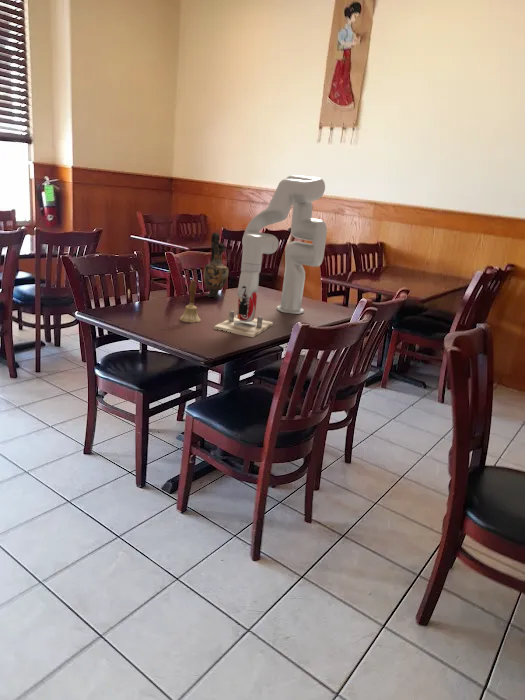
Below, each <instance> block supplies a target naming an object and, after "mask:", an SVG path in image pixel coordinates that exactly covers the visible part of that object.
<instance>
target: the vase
mask: <svg viewBox="0 0 525 700" xmlns="http://www.w3.org/2000/svg"><path fill="white" fill-rule="evenodd" d="M220 237H221V236H220V234H219V233H218V232H214V233H212V235H211V237H210V238H211V240H210V242H211V247H210V249H211V253H210V254H211V255H210V262H209V263H206V264H205V265H204V267H203V279H204V280H203V281H204V284H205V287H207V289H209V292H208V293H207V294H206V295H207V296H208V298H210V297H214V298H213V299H220V297H221V295H220V294H218V293H219V291H220V290H222V289H223V288H224V287H225V286H226V283H227V280H228V277H229V273H230V272H229V268H228V267H227V266H226V265H225V264H223V263H222V258H223V257H222V255H223V252H226V251H227V248H226V246H225V245H226V244H224V243H220ZM207 296H206V297H207ZM221 298H222V297H221Z"/></svg>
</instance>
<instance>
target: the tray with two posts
mask: <svg viewBox="0 0 525 700" xmlns="http://www.w3.org/2000/svg"><path fill="white" fill-rule="evenodd" d="M263 318H264V317H263V316H259V315H258V316H257V317H256V318H254V320H252V321H251V322H243V321H240V320H239V319H238V318H237V314H236V315H235V311H234V310H229V312H228V319H226V320H224V321H222V322H220V323H217V324H216V325H214V326H213V327H214V330H217V329H218V330H217V331H221V330H223V331H222V332H226V331H227V333H230V332H231V333H230V334H236V335H240V336H243V337H244V336H245V337H250V338H255V337H256V336H258V335H260V334H261V333H263V332H264V331H266V330H267V329H269V328H271V327H272V326H274V322H273V321H270V320H264V319H263Z"/></svg>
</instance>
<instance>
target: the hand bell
mask: <svg viewBox="0 0 525 700" xmlns="http://www.w3.org/2000/svg"><path fill="white" fill-rule="evenodd" d="M188 291H189V292H188V293H189V304H187V305H186V306H185V308H184V312H183V313H182V315H181V316H180V318H179V320H180V321H181V322H184V323H189V322H190V323H191V324H196V323H195V322H197V323H200V322H201V321H202V320H201V318H200V317H199V315H198V307H197V306H195V295H196V292H197V284H196V279H195V280H194V279H192V280H191V282H190V285H189V290H188Z"/></svg>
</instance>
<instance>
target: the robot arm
mask: <svg viewBox="0 0 525 700" xmlns="http://www.w3.org/2000/svg"><path fill="white" fill-rule="evenodd" d="M325 191H326V183H325V181H324V179H323V178H321V177H317V176H307V175H306V176H305V175H298V174H294V175H293V174H291V175H288V176H287V177H286V178H283V179H282V180H281V181H279V183H278V185H277V187H276V189H275V191H274V193H273V195H272V198H271V199H270V201H269V204H268V206H267V207H266V208H265V209H264V210H262V211H260V212H259V213H258V214H256V215H255V216H253V218H251V220H250V221H249V222H248V224H247V225H246V228H245V231H244V232H243V236H242V240H241V244H242V255H241V267H240V275H239V281H238V286H237V287H238V288H237V297H238V300H239V301H240V302H239V314H242V315H247V307H248V305H247V302H248V298H250V297H251V295H252V292H255V291H256V295H257V294H258V292H259V281H260V273H261V270H262V268H261V267H262V262H263V261H262V260H263V254H265V255H272V254H274V253H276V251H277V250H278V248H279V243H280V242H279V239H278V238H277V236H275V235H274V234H272V233H271V234H270V233H264V232H260V231H261V229H263V228H265V227H267V226H270V225H273V224H277V223H281V222H283V221H285V220H286V219H287V218H288V215H289V213H290V211H291V209H292V215H291V223H290V225H291V226H290V235H291V236H292V237H293V238H295V239H298V240H304V241H310V242H312V243H308V242H302V241H296V240H295V241H291V242H290V241H289V243H287V244H286V246H285V251H284V255H285V256H284V257H285V258H284V259H285V262H284V264H285V265H284V266H285V267H284V276H283V283H282V291H281V299H280V305H277V306H276V310H277V311H278V312H282V313H286V314H290V315H292V314H293V315H298V314H299V315H300V314H303V313H304V311H305V309H304V308H302V303H303V301H302V300H303V295H304V287H305V280H306V271H305V268H304V266H308V267H315V268H316V267H320V266H321V265H322V264H323V261H324V257H325V251H326V250H325V248H326V244H327V243H326V242H327V241H326V240H327V233H328V228H327V224H326V221H324V220H322V219H319V218H313V216H312V215H313V203H312V202H314V201H317V200H319V199H321V198H322V197H323V195H324V193H325ZM303 265H304V266H303ZM244 295H247V297H245V296H244ZM243 298H245V299H246V300H245V299H243Z"/></svg>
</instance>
